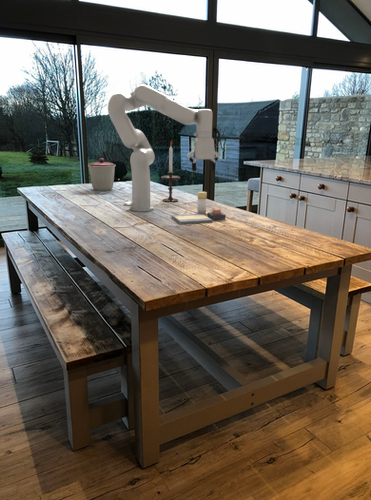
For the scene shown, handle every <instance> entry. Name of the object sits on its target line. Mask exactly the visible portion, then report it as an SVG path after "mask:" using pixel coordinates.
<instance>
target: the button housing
mask: <svg viewBox="0 0 371 500" xmlns="http://www.w3.org/2000/svg"><path fill="white" fill-rule="evenodd" d="M212 212H213V211H211V212H210V211H209V212H208V211H207V213H206V214H207V215H206V216H207V217H208V218H210V219H212V221H222V220H223V221H224V220H226V215H227V214H225V213H223V212H222V211H221V214H219V215H213V214H212Z"/></svg>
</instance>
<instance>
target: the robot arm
mask: <svg viewBox="0 0 371 500" xmlns="http://www.w3.org/2000/svg"><path fill="white" fill-rule="evenodd" d="M144 106H147V107H149V108H151V109H153V110H155V111H156V112H158V113H161V114H162V115H164V116H167V117H168V118H171V119H173V120H175V121H176V122H178V123H181V124H182V125H185V126H187V125H189V126H191V125H196V132H195V133H193V136H194V137H196V138H194V142H193V150H192V151H189V152H188V153H187V154H186V156H187V158H188V160H189V161H190V163H191V171H192V172H196V171H197V163H196V162H197V160H210V165H209V167H210V169H209V170H210V171H212V172H214V171H215V169H216V166H215V165H216V163H217V162H218V160H219V158H220V156H221V154H220V152H218V151H216V150H215V149H216V148H215V141H214V138H213V111H212V109H210V108H199V109H195V108H190V107H187V106H185V105H183V104H180V103H178V102H177V101H174V100H173V99H171V97H170V96H169V95H167V94H165V93H162V92H160V91H158V90H156V89H155V88H153V87H152V86H150V85H147V84H143V83H142V84H139V85H137V86H136V87H135V89H134V90H133V91H131V92H127V93H126V92H122V91H121V92H116V93H114V94H113V95H111V96H110V98H109V100H108V104H107V113H108V116H109V118H110V120H111V123H112V124H113V126H114V128H115V129H116V132H117V134H118V136H119V137H120V139H121V141H122V144H123V145H124V146H125V147H126V148H128V149H132V150H133V152H132V153H131V155H130V159H129V161H130V169H131V191H132V194H131V200H130V201H128V202H123V207H129V210H130V211H133V212H150V211H154V207H153V206H152V205H151V172H150V165H152V164H153V163H154V161H155V156H156V155H155V152H154V150H153V148H152V146H151V144H150V143H149V140H148V138H147V137H146V134H144V132H143V131H142V130H140V129H138V128H135V127H134V125H133V123H132V121H131V119H130V117H129V115H127V113H126V112H127V111H128V112H129V111H133V110H136V109H138V108H141V107H144ZM192 155H193V157H192Z"/></svg>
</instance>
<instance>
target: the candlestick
mask: <svg viewBox="0 0 371 500" xmlns="http://www.w3.org/2000/svg"><path fill="white" fill-rule="evenodd" d="M172 145H173V140H171V141H170V147H169V150H168V160H169V161H168V171H167V173H168V175H162V176H161V177H160V178H161V179H162V180H167V181H168V182H169V187H168V194H169V196H168V197H167V198H163V199H162V202H164V203H169V202H173V203H178V202H179V199H178V198H173V189H174V188H173V187H172V185H173V183H172V182H173V181H175V180H180V179H181V176H179V175H173V174H174V173H175V172H174V171H173V150H174V149H173V148H172Z"/></svg>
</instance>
